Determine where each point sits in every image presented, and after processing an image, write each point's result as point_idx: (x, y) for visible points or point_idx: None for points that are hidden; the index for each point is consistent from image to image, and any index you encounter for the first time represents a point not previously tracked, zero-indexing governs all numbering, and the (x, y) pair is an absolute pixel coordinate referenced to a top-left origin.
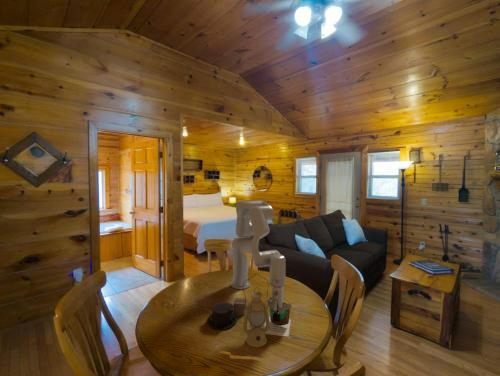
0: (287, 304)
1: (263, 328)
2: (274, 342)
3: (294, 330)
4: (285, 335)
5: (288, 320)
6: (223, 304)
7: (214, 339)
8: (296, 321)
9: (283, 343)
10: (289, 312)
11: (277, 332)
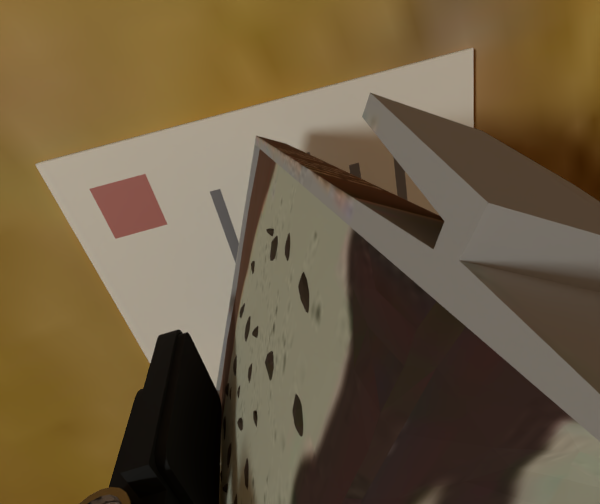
0: (447, 460)
1: None
2: (588, 173)
3: (286, 5)
4: (459, 97)
5: (274, 142)
6: None
7: None
8: (9, 50)
9: (597, 70)
10: (301, 158)
11: (431, 210)
